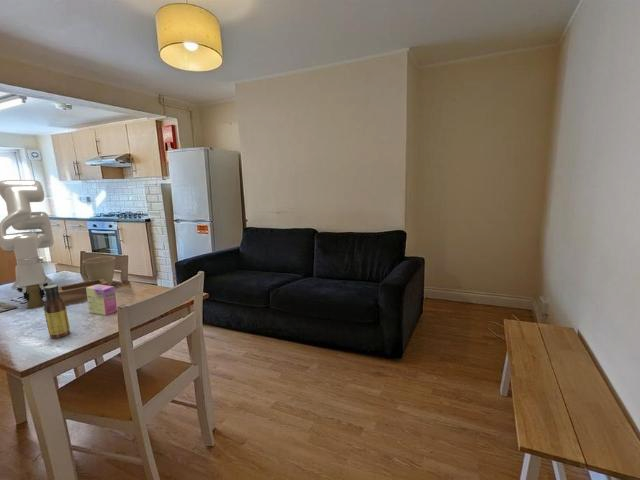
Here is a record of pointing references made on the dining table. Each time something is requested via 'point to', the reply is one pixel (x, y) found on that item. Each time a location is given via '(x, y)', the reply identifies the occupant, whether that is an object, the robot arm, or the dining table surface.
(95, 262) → the plant pot
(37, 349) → the dining table surface
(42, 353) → the dining table surface
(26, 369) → the dining table surface
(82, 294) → the walnut well caddy
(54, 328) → the sauce bottle
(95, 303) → the box
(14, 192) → the robot arm
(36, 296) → the olive brown gourd shape
